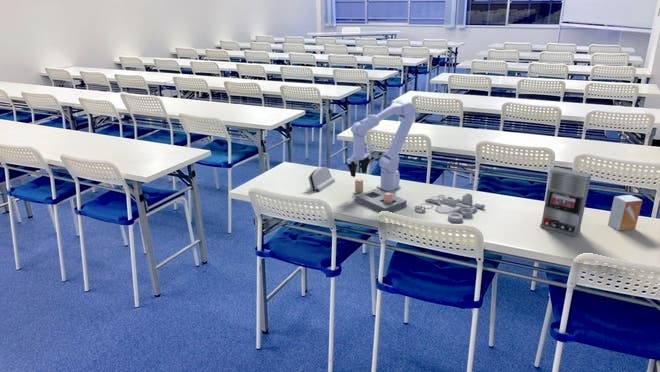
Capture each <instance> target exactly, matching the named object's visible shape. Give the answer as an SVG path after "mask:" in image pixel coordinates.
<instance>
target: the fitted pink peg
mask: <svg viewBox="0 0 660 372" xmlns="http://www.w3.org/2000/svg"><path fill="white" fill-rule="evenodd" d="M393 195H394V194H393V192H386V193H384V203H385V204H388V205H389V204H392V202H393Z"/></svg>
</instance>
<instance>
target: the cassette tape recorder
mask: <svg viewBox="0 0 660 372" xmlns="http://www.w3.org/2000/svg"><path fill="white" fill-rule="evenodd" d="M591 178H592V174H591V173H587V172H583V171H578V170H572V169H568V168H562V167H558V166H555V167H552V169H550V173H549V178H548V185H547V190H546V196H545V202H544V206H543V207H544V208H543V213H542V219H541V223H540V225H539V227H540V228H542V227H543V228H542V229H548V230H551V231H556V232H559V233H562V234H566V235H570V236H573V237H577V236H578V235H579V234H580V233H581V230H582V229H581V226H582V222H583V216H584V213H585V207H586V201H587V199H588V198H587V197H588V193H589V188H590V182H591Z"/></svg>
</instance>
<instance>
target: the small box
mask: <svg viewBox="0 0 660 372" xmlns="http://www.w3.org/2000/svg"><path fill="white" fill-rule="evenodd" d="M613 197H614V198H613V201H612V206H611V209H610V214H609V219H608V223H607V225H608V226H609V227H611V228H612V229H614V228H615V229H614V230H617V231H619V232H620V231H621V232H622V231H628V230H630V229H631V230H635V229H636V228H637V227H636V226H637V223H638V219H639V216H640V211H641V208H642V204H643V200H642V199H640V198H639V197H636V196H634V195H633V194H625V195H617V196H613Z"/></svg>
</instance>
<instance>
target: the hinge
mask: <svg viewBox="0 0 660 372" xmlns="http://www.w3.org/2000/svg"><path fill="white" fill-rule="evenodd" d="M307 179H308V182H309V183H308V184H309V186H310V190H311V191H314V190H315V191H316V190H318V192H320V193H321V192H322V191H323V190H325V189H326V188H328V187H329V186H332V184H334V183H336V180H335V178H334V177H332V174H331V172H330V169H329V168H328V167H319V168H316V169H315V170H312V172H311V173H310V174H309V175H308V178H307Z"/></svg>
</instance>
